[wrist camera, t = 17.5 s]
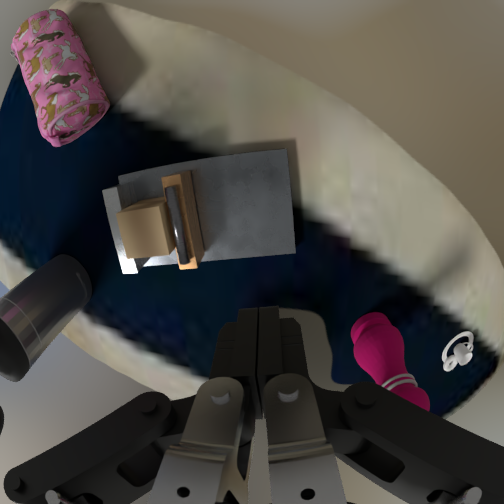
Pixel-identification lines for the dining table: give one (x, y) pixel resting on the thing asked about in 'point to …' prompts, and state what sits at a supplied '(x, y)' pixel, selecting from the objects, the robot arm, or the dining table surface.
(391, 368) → the pepper mill
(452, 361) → the white looped part
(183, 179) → the sliding jaw
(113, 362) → the dining table surface
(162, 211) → the oak block
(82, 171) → the dining table surface
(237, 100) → the dining table surface
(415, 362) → the dining table surface
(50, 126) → the pencil case
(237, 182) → the vise base
